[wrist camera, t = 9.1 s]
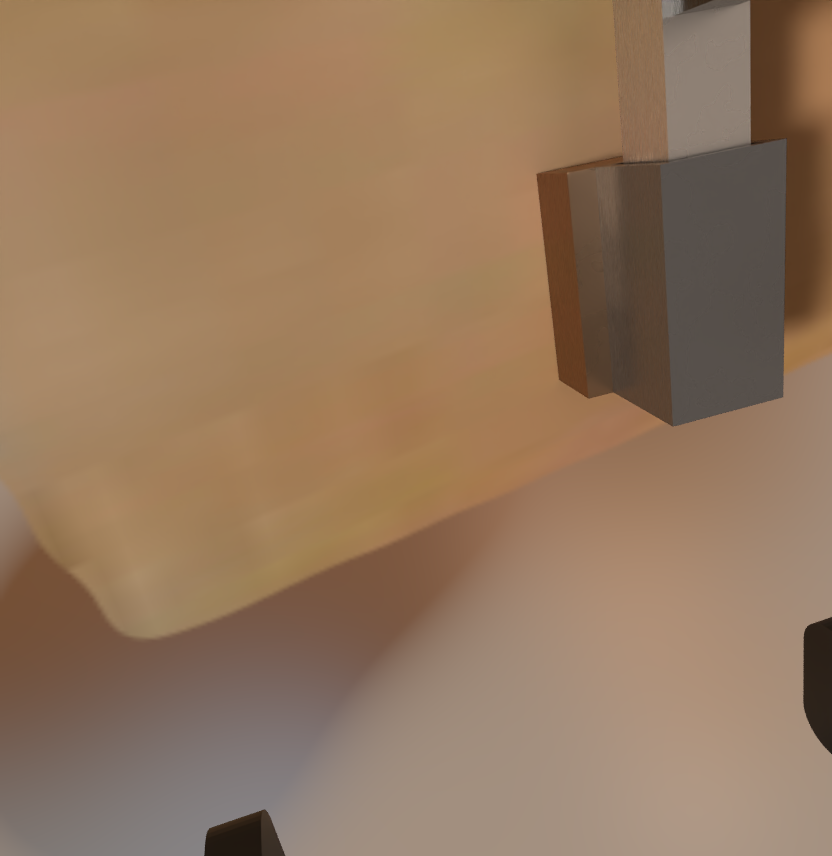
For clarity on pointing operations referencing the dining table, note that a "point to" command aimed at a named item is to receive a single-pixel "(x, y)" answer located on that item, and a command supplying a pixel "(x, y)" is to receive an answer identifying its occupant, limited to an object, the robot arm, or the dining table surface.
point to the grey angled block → (682, 77)
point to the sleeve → (670, 279)
